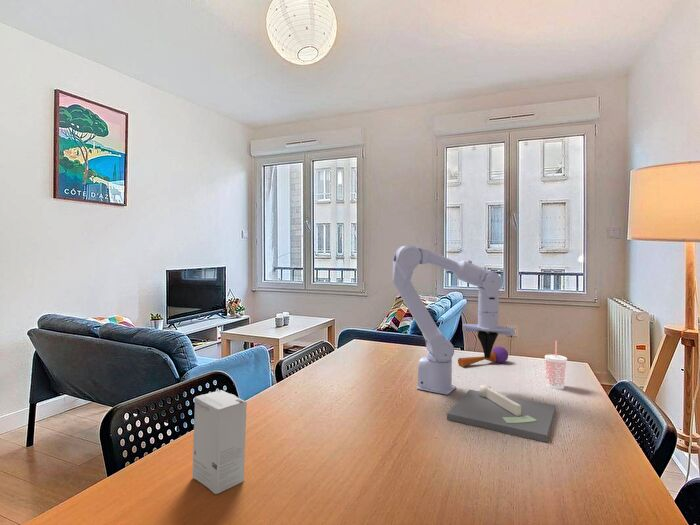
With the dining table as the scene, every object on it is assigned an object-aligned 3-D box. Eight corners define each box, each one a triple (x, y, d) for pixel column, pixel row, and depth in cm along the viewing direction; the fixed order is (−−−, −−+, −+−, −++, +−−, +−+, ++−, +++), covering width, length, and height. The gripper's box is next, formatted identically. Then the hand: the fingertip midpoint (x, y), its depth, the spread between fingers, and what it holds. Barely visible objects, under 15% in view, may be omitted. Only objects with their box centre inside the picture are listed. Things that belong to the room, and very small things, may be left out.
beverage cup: (544, 388, 122) (545, 341, 121) (543, 382, 128) (544, 337, 127) (567, 391, 120) (568, 343, 119) (565, 384, 125) (566, 339, 125)
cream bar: (477, 393, 112) (477, 385, 112) (486, 393, 113) (486, 384, 113) (513, 416, 97) (513, 406, 97) (524, 415, 98) (524, 405, 98)
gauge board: (446, 419, 99) (446, 412, 99) (469, 394, 116) (469, 388, 116) (546, 442, 88) (546, 434, 88) (555, 411, 105) (555, 404, 105)
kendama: (454, 353, 147) (499, 345, 154) (457, 370, 147) (501, 361, 154) (464, 354, 142) (510, 345, 149) (467, 372, 141) (513, 362, 148)
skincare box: (191, 478, 73) (190, 396, 73) (221, 465, 78) (220, 388, 78) (217, 496, 68) (216, 408, 68) (247, 481, 73) (247, 398, 72)
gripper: (460, 311, 121) (459, 357, 121) (512, 315, 114) (512, 363, 114) (465, 308, 127) (465, 351, 127) (515, 312, 120) (514, 357, 120)
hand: (487, 357), depth 121 cm, fingers closed
